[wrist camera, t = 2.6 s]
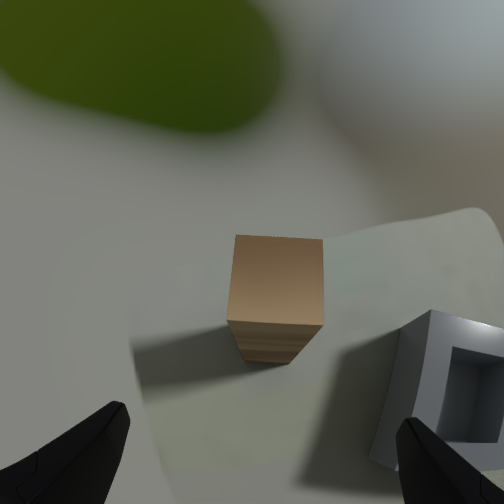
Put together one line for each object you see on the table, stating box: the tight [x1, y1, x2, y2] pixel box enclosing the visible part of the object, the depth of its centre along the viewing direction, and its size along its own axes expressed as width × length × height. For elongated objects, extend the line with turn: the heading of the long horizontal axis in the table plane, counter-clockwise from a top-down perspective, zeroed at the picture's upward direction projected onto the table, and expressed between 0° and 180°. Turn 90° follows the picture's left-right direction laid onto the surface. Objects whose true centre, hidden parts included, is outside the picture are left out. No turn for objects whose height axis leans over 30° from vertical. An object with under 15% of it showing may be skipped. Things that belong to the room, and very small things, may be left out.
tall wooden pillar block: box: [227, 235, 324, 364], centre depth 15 cm, size 3×3×12 cm
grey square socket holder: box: [368, 309, 504, 471], centre depth 16 cm, size 10×10×5 cm
